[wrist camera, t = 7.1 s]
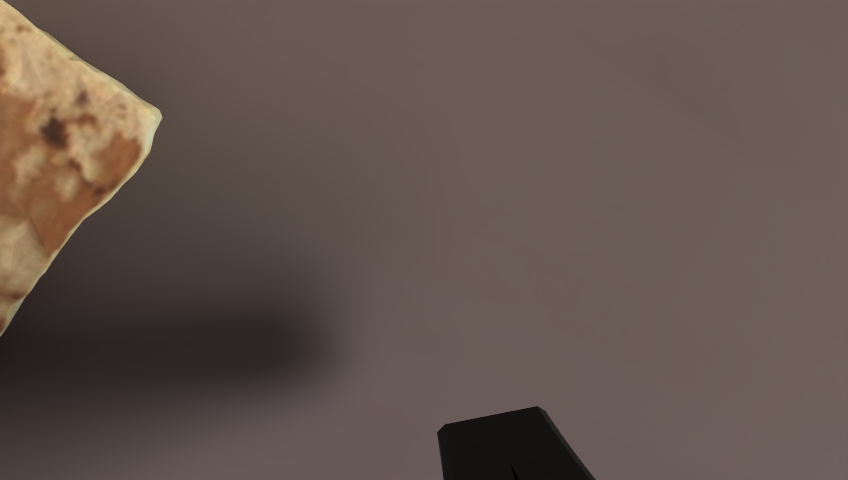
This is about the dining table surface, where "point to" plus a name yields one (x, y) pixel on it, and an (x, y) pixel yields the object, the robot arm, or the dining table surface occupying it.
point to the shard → (56, 149)
